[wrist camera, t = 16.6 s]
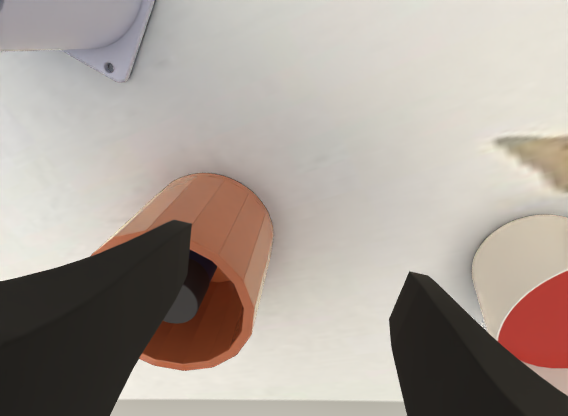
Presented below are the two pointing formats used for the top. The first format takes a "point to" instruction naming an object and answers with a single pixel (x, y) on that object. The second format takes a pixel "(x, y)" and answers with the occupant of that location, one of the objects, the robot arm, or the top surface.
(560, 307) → the candle
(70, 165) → the top surface
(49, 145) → the top surface
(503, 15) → the top surface
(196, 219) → the pen pot
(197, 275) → the glue stick
